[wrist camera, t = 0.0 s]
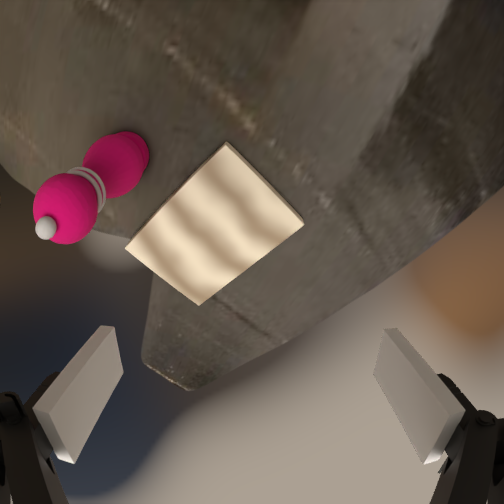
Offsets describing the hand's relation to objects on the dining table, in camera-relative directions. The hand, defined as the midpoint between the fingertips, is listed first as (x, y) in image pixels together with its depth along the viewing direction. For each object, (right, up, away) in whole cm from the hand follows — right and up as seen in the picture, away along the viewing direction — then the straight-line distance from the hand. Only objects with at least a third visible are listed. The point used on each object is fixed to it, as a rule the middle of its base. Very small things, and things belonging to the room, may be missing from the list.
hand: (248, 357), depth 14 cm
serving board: (-5, +8, +28) cm, 30 cm away
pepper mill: (-16, +17, +22) cm, 32 cm away
